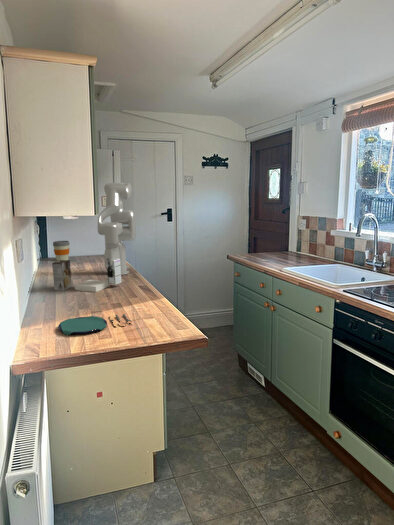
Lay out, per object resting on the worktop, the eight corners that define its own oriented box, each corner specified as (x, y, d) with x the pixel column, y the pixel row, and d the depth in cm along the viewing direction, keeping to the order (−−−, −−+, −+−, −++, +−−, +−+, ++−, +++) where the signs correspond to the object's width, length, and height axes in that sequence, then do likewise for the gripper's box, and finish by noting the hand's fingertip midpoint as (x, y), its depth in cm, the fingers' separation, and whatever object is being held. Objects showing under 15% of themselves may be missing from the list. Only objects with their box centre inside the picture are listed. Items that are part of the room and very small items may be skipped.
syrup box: (121, 282, 245) (120, 258, 241) (115, 284, 239) (114, 260, 236) (114, 281, 247) (112, 257, 244) (107, 283, 242) (106, 259, 239)
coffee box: (62, 286, 245) (60, 259, 242) (72, 286, 244) (70, 260, 241) (54, 290, 236) (51, 262, 233) (64, 290, 235) (62, 263, 232)
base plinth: (89, 284, 249) (89, 279, 248) (109, 286, 244) (109, 281, 244) (75, 290, 236) (74, 284, 235) (96, 291, 231) (95, 286, 231)
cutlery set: (56, 324, 179) (56, 318, 179) (124, 315, 190) (124, 311, 190) (60, 340, 161) (60, 334, 161) (135, 329, 172) (135, 324, 172)
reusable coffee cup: (53, 262, 325) (51, 243, 322) (55, 259, 337) (53, 241, 334) (69, 261, 327) (68, 242, 324) (71, 258, 339) (69, 240, 336)
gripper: (114, 242, 248) (115, 271, 252) (97, 247, 232) (99, 278, 236) (125, 243, 245) (126, 272, 249) (109, 248, 230) (111, 279, 233)
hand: (113, 275), depth 243 cm, fingers closed on syrup box, 6 cm apart
